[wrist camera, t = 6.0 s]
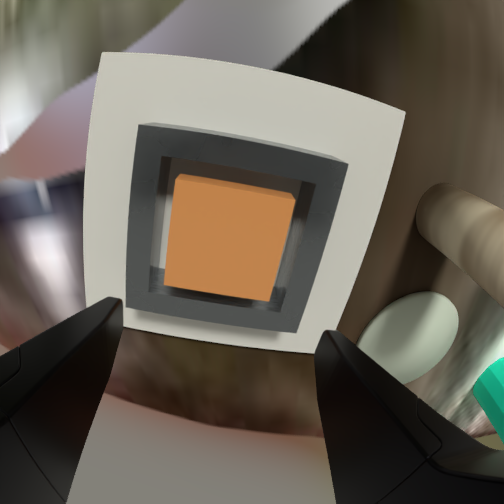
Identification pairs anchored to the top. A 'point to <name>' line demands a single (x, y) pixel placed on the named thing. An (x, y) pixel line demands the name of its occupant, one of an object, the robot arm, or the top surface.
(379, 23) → the top surface
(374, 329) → the mat
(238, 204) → the button
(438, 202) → the tan cylinder
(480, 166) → the top surface
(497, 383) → the candle
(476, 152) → the top surface
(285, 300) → the white flat square slab
